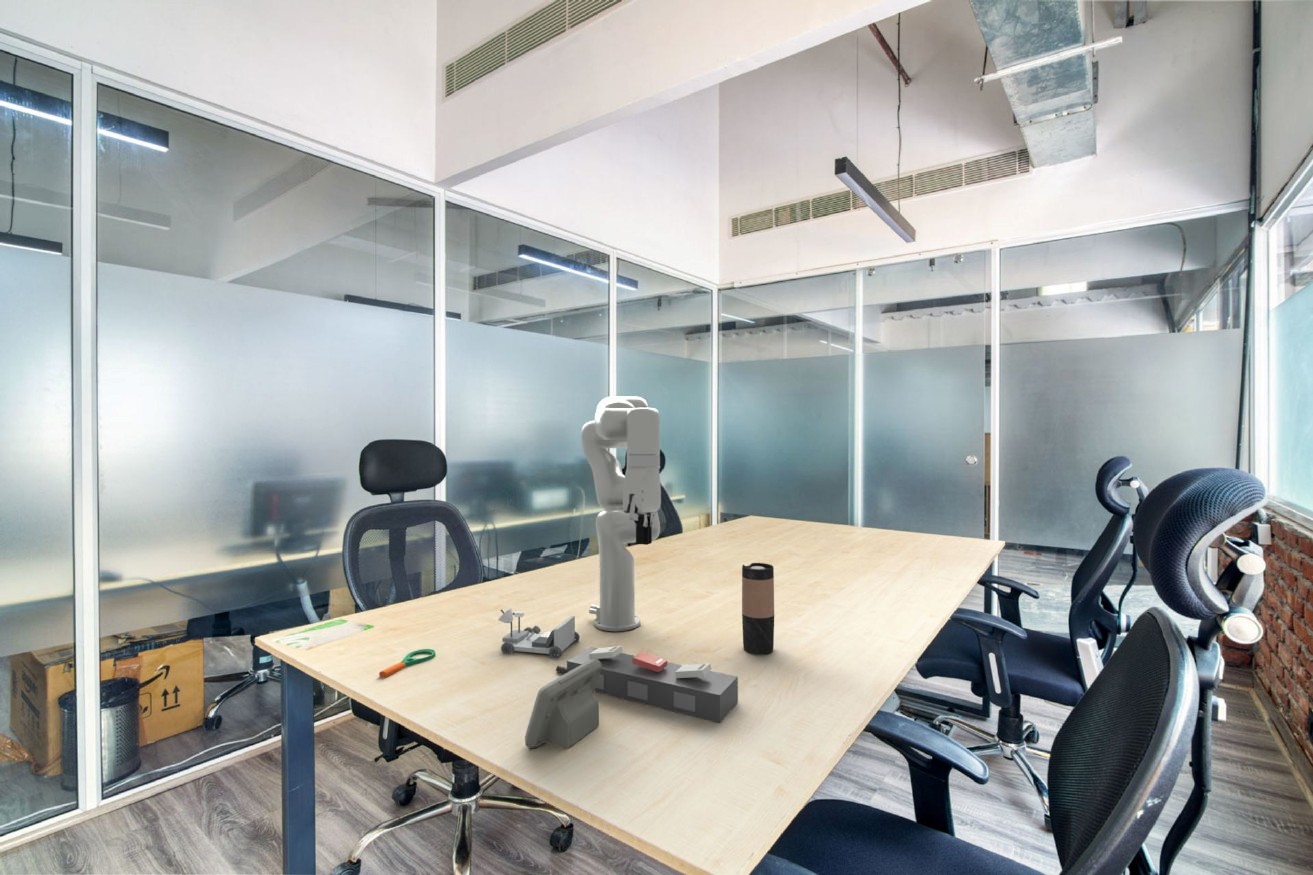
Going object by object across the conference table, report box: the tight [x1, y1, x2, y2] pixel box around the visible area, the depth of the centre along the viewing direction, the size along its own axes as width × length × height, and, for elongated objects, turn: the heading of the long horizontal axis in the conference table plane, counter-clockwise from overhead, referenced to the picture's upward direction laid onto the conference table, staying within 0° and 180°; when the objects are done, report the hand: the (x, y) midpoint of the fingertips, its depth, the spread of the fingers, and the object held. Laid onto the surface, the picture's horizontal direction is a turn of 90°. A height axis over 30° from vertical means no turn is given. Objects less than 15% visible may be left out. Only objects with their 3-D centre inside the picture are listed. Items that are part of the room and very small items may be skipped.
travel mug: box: [741, 562, 775, 656], centre depth 139 cm, size 8×8×20 cm
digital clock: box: [524, 659, 601, 750], centre depth 101 cm, size 16×9×11 cm, turn 138°
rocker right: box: [675, 663, 712, 678], centre depth 111 cm, size 6×4×1 cm, turn 61°
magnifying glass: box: [378, 648, 436, 679], centre depth 132 cm, size 15×6×2 cm, turn 162°
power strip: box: [555, 646, 739, 724], centre depth 117 cm, size 40×9×5 cm, turn 61°
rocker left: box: [589, 645, 624, 660], centre depth 121 cm, size 6×4×1 cm, turn 61°
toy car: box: [497, 608, 580, 659], centre depth 142 cm, size 18×10×12 cm
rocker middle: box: [632, 651, 668, 672], centre depth 116 cm, size 6×4×1 cm, turn 61°
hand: (643, 543), depth 131 cm, fingers closed
